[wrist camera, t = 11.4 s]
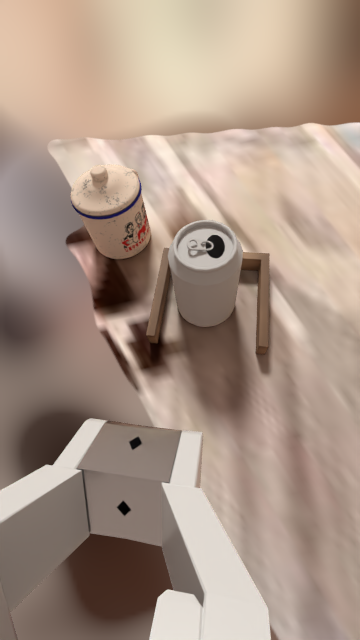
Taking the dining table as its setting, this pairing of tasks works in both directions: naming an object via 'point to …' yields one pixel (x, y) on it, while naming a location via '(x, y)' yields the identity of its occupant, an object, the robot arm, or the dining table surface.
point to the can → (205, 271)
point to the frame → (248, 263)
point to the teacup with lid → (112, 210)
